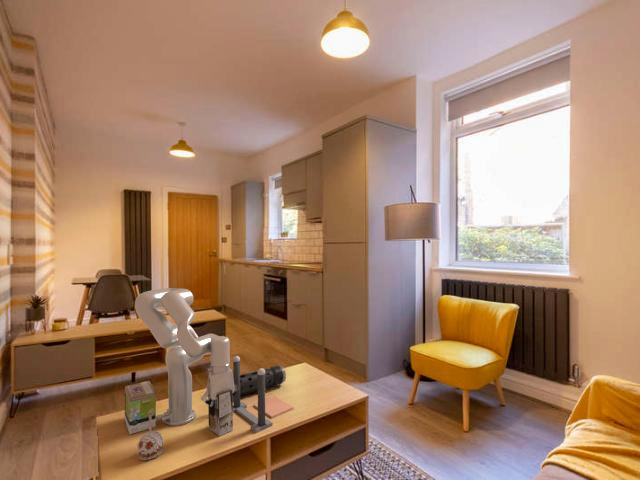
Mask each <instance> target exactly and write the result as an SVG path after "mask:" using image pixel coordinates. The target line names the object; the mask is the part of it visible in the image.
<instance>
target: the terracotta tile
mask: <svg viewBox="0 0 640 480" xmlns="http://www.w3.org/2000/svg"><path fill="white" fill-rule="evenodd" d="M253 407H254V408H256V409H257V410H258V402H256V403H254V404H253ZM294 408H295V407H294V406H292V405H291V404H289V403H288V402H286V401H284V400H282V399H281V398H279V397H277V396H272V397H269V398H267V399H266V398H265V416H267V417H269V418H270V419H274V418H276V417H278V416H282V414H285V413H288V412H290V411H292V410H294Z"/></svg>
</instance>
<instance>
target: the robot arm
mask: <svg viewBox="0 0 640 480" xmlns="http://www.w3.org/2000/svg"><path fill="white" fill-rule="evenodd" d="M193 303H194V294H193V293H192V292H191V290H189V289H186V288H180V287H179V288H177V287H176V288H175V287H173V288H172V287H165V288H157V289H152V290H148V291H144V292H142V293H140V294H138V295H137V297H136V298H135V301H134V308H135V312H136V314H137V316H138V318H139V319H140V320H141V321H142V322H143V323H144V324H145V326H146V327H147V329H148V330H149V332H150V333H151V334H152V336H153V338H154V339H155V340H156V342H157V344H158V345H159V346H160V348H163V349H169V348H170V349H169V350H168V351H167V353H166V354H165V364H166V365H165V366H166V369H167V375H168V377H167V378H168V379H167V383H168V387H167V389H168V390H167V391H168V393H167V394H168V395H167V397H168V408H167V409H166V410H165V411H164V412H163V413H161V414H156V422H157V421H160V420H161V422H164V423H165V424H166V425H168V426H181V425H182V426H183V425H185V424H188V423H190V422H192V421H193V420H194V419H195V418H196V416H197V413H196V410H194V409H193V376H192V371H191V370H190V369H189V366H190V365H191V364H194V363H195V362H198V361H200V360H202V358H204V356H205V355H207V354H209V353H210V365H209V367H208V368H207V372H208V378H207V385H206V386H207V387H206V391H205V393H203V395H202V396H201V397H200V400H201V401H203V402H204V403H205V404H206V405H207V406H208V405H209V414H210V415H212V416H214V405H213V404H214V401H215V400H216V399H217V394H219V393H222V392H224V391H227V390H233V396H234V395H235V393H236V391H237V390H238V388H239V387H238V386H236V385H235V384H234V379H233V370H232V369H233V368H231V367H230V365H231V364H230V363H231V360H230V359H231V357H230V355H231V353H230V350H231V349H230V347H231V345H230V344H231V343H230V339H229V337H227V336H223V335H222V336H219V335H218V334H215V333H207V334H205V335H202V336H201V335H200V336H198V334H197V332H195V330H194V328H193V327H192V326H191V325H190V324H191V323H192V322H193V321H194V319H195V317H196V313H195V311H194V309H192V307H191V305H192V304H193ZM160 308H163V309H164V310H165V312H166V313H167V314H168V316H170V318H171V319H172V320H173V322H174V323H172V322H171V321H170V320H169V319H168V317H167V316H166V315H165V314H164V313H163V312H161V311H160V310H159V309H160ZM157 309H158V310H157ZM232 388H233V389H232ZM208 397H209V400H208ZM209 414H208V415H209Z"/></svg>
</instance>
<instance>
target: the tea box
mask: <svg viewBox="0 0 640 480" xmlns="http://www.w3.org/2000/svg"><path fill="white" fill-rule="evenodd" d="M149 413H152V428H156V425H157V423H156V422H157V419H156V416H157V391H156V390H155V388H154V386H153V384H152V383H151V381H150V380H148V381H143V382H139V383H138V382H137V383H133V384H129V385H125V387H124V421H125V425H126V427H127V430H128V434H129V435H132V434H135V433H136V434H137V433H139V432H143V431H146V430H149Z"/></svg>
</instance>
